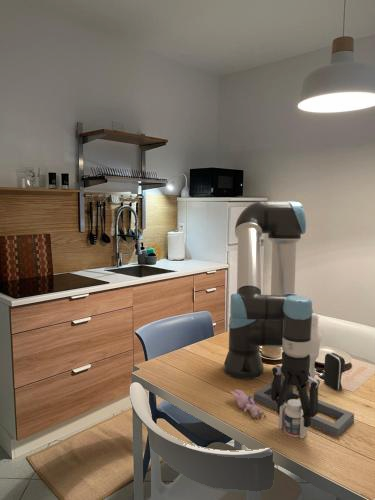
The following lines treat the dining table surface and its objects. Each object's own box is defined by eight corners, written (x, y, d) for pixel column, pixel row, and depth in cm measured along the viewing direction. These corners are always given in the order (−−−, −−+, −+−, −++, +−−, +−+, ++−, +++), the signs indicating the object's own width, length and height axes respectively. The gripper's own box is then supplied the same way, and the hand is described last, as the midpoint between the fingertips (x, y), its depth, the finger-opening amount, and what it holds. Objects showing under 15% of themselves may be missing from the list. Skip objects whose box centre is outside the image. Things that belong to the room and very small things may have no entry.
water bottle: (314, 374, 142) (325, 314, 135) (313, 386, 136) (325, 322, 129) (294, 370, 145) (304, 310, 137) (293, 381, 138) (303, 318, 131)
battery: (345, 389, 133) (347, 357, 131) (336, 391, 131) (338, 359, 130) (331, 380, 139) (333, 350, 138) (323, 382, 138) (324, 352, 136)
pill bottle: (281, 427, 110) (282, 398, 109) (298, 426, 111) (300, 397, 110) (287, 438, 105) (288, 407, 104) (306, 437, 106) (307, 407, 105)
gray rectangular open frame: (253, 400, 125) (254, 379, 124) (272, 388, 133) (273, 369, 132) (337, 437, 106) (338, 413, 105) (353, 421, 113) (355, 399, 112)
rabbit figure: (269, 421, 116) (239, 393, 128) (271, 405, 114) (241, 377, 126) (252, 427, 112) (224, 397, 125) (255, 410, 111) (226, 381, 123)
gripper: (259, 346, 109) (257, 422, 112) (322, 367, 96) (317, 452, 99) (274, 340, 114) (271, 413, 117) (335, 358, 101) (330, 440, 104)
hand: (292, 430), depth 108 cm, fingers open, 6 cm apart
